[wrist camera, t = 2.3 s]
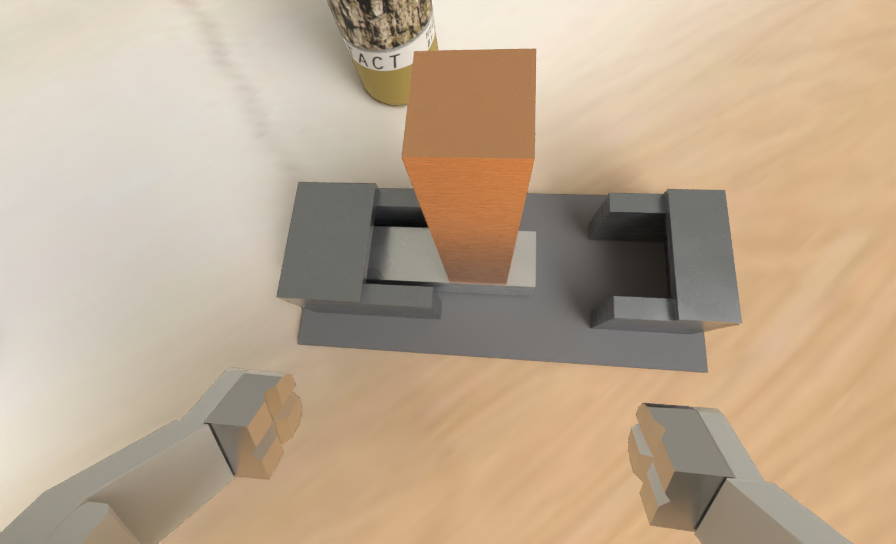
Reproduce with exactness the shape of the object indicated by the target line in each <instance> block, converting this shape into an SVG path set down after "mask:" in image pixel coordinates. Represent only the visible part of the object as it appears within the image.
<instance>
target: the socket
mask: <svg viewBox="0 0 896 544" xmlns="http://www.w3.org/2000/svg"><path fill="white" fill-rule="evenodd" d="M588 231H589V240H598V241H627V242H657V243H664V250H665V262H666V275H667V288H668V299H664V298H644V297H624V296H613V297H611V298H610V299H608V300H607V301H605V302H603V303H602V304H600V305H599V306H597V307H596V308H594V309H592V310H591V329H605V330H622V331H639V332H656V333H673V334H690V335H691V334H696V333H701V332H706V331H711V330H715V329H720V328H725V327H730V326H735V325H739V323H742V319H741V311H740V303H739V295H738V288H737V280H736V272H735V264H734V256H733V249H732V241H731V233H730V225H729V217H728V210H727V202H726V194H725V190H690V189H668V190H667V191H666V192H665V193H664V194H639V193H609V194H608V196H607V197H606V199H605V200H604V202H603V203H602V205H601V206H600V208H599V209H598V211H597V212H596V214H595V215H594V217H593V218H592V220H591V221H590V223H589V224H588Z"/></svg>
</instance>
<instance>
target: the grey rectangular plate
mask: <svg viewBox="0 0 896 544" xmlns="http://www.w3.org/2000/svg"><path fill="white" fill-rule="evenodd" d="M607 196H608V195H573V194H527V195H526V199H525V204H524V208H523V213H522V217H521V222H520V226H519V230H518V231H536V286H535V289H534V291H533V292H532V294H531V296H513V295H493V294H474V293H454V292H436V293H437V295H438V296H439V298H440V300H441V301H442V311H441V320H436V319H419V318H402V317H385V316H368V315H351V314H334V313H318V312H314V311H311V310H309V309H306V308H304V309H303V315H302V320H301V326H300V332H299V338H298V344H300V345H314V346H329V347H343V348H358V349H372V350H387V351H401V352H416V353H430V354H444V355H459V356H473V357H488V358H502V359H517V360H531V361H545V362H560V363H574V364H589V365H603V366H618V367H632V368H647V369H661V370H675V371H690V372H704V373H705V372H708V368H707V358H706V348H705V338H704V332H701V333H696V334H691V335H690V334H673V333H656V332H639V331H622V330H605V329H591V310H592V309H594V308H596V307H597V306H599V305H600V304H602V303H603V302H605V301H607V300H608V299H610V298H611V297H613V296H624V297H644V298H664V299H668V288H667V275H666V262H665V250H664V243H657V242H627V241H598V240H589V231H588V224H589V223H590V221H591V220H592V218H593V217H594V215H595V214H596V212H597V211H598V209H599V208H600V206H601V205H602V203H603V202H604V200H605V199H606V197H607Z"/></svg>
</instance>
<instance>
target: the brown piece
mask: <svg viewBox="0 0 896 544" xmlns="http://www.w3.org/2000/svg"><path fill="white" fill-rule="evenodd" d="M535 93H536V49H493V50H444V51H414V56H413V64H412V73H411V81H410V90H409V99H408V107H407V116H406V124H405V133H404V141H403V150H402V160H403V162H404V165H405V167H406V170H407V173H408V175H409V178H410V180H411V183H412V186H413V188H414V191H415V193H416V196H417V199H418V201H419V204H420V206H421V209H422V212H423V214H424V217H425V219H426V222H427V225H428V227H429V228H413V227H382V226H373V232H372V240H371V248H370V255H369V263H368V270H367V278H366V284H381V285H402V286H422V287H433V288H434V290H435V291H436V292H454V293H474V294H493V295H513V296H531V294H532V292H533V291H534V289H535V286H536V231H518V230H519V226H520V222H521V217H522V213H523V208H524V204H525V199H526V195H527V190H528V186H529V181H530V177H531V172H532V168H533V163H534V159H535Z"/></svg>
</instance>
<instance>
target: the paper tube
mask: <svg viewBox="0 0 896 544" xmlns="http://www.w3.org/2000/svg"><path fill="white" fill-rule="evenodd" d="M327 1H328V4H329V6H330V8H331V11H332V13H333V16H334V18H335V20H336V23H337V25H338V27H339V30H340V32H341V35H342V37H343V39H344V42H345V44H346V46H347V49H348V51H349V53H350V55H351V57H352V60H353V62H354V65H355V67H356V69H357V72H358V74H359V76H360V79H361V81H362V84H363V86H364V87H365V89H366V90H367V92H368V93H369V94H370V95H371V96H372V97H373V98H375V99H377V100H378V101H381V102H383V103H386V104H390V105H405V104H408V99H409V90H410V81H411V73H412V64H413V56H414V51H438V45H437V38H436V31H435V22H434V15H433V8H432V1H431V0H327Z"/></svg>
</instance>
